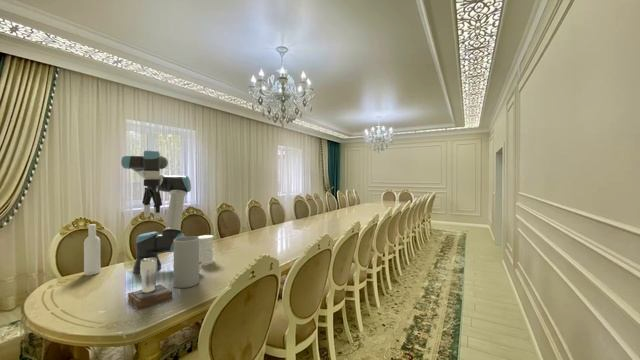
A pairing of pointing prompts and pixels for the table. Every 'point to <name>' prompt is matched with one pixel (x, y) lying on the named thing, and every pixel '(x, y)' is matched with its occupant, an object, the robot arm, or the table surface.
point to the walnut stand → (149, 297)
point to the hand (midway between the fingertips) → (152, 217)
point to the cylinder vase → (186, 261)
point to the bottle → (92, 252)
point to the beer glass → (148, 274)
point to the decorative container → (206, 249)
